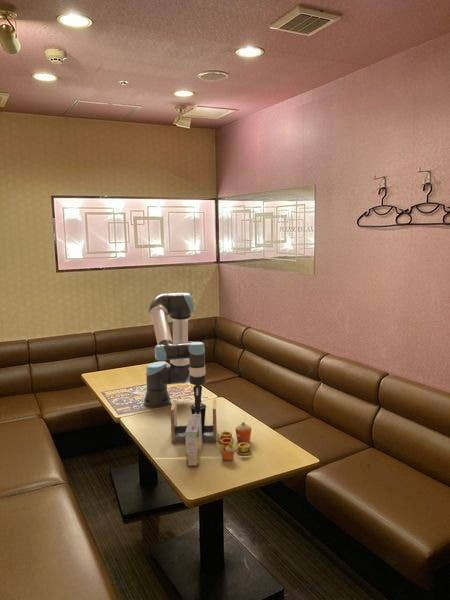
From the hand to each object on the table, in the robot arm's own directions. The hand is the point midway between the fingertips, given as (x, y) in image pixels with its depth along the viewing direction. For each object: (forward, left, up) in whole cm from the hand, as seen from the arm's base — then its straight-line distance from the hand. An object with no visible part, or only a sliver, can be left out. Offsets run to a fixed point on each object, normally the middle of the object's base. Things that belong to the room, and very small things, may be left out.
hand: (198, 421), depth 230 cm
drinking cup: (0, 0, -6) cm, 6 cm away
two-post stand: (0, -2, -7) cm, 8 cm away
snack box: (+20, -1, -8) cm, 22 cm away
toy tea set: (+14, +17, -8) cm, 23 cm away
